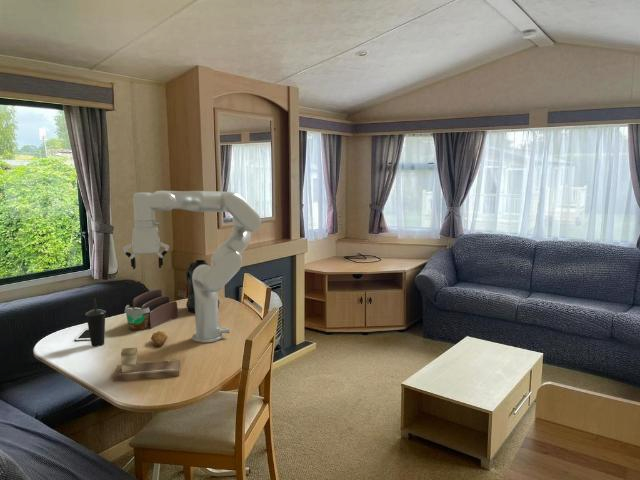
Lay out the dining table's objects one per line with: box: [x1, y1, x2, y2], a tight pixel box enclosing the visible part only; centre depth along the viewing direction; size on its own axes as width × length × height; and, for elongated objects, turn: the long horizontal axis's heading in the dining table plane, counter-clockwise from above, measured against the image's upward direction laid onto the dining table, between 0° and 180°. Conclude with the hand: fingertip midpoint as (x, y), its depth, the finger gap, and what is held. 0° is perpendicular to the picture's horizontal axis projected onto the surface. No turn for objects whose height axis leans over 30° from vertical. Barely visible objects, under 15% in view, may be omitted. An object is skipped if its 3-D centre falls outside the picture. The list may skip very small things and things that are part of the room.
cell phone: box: [74, 327, 91, 342], centre depth 217 cm, size 8×15×1 cm, turn 8°
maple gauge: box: [120, 347, 139, 372], centre depth 176 cm, size 5×5×7 cm
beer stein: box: [185, 259, 221, 315], centre depth 253 cm, size 16×19×25 cm
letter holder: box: [132, 288, 179, 330], centre depth 235 cm, size 10×20×14 cm, turn 159°
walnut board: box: [112, 359, 181, 383], centre depth 178 cm, size 22×10×2 cm, turn 103°
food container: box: [124, 304, 150, 332], centre depth 224 cm, size 12×6×10 cm, turn 69°
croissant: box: [150, 330, 169, 348], centre depth 208 cm, size 14×7×5 cm, turn 15°
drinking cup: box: [84, 296, 107, 348], centre depth 204 cm, size 8×8×20 cm
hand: (147, 267), depth 196 cm, fingers open, 9 cm apart
